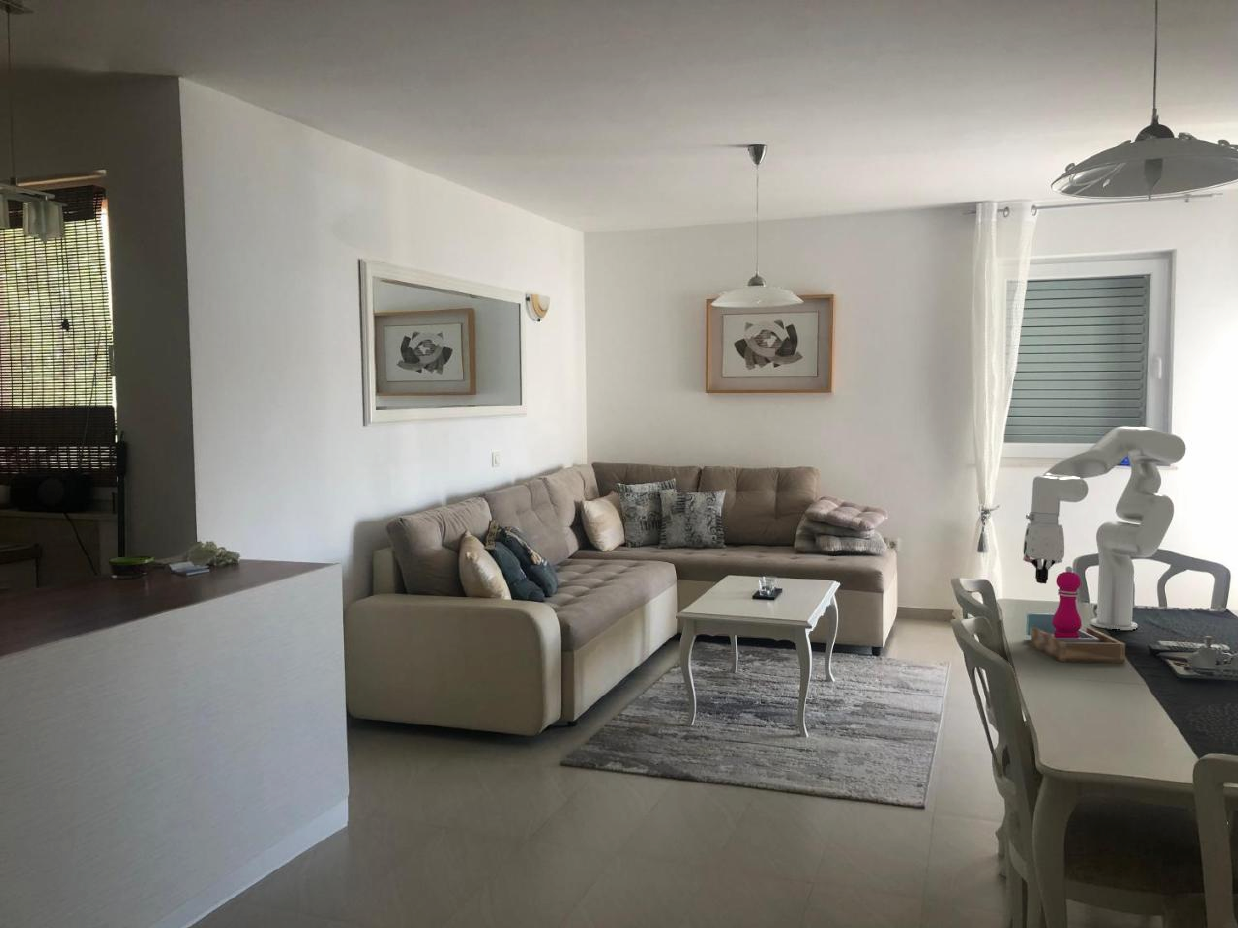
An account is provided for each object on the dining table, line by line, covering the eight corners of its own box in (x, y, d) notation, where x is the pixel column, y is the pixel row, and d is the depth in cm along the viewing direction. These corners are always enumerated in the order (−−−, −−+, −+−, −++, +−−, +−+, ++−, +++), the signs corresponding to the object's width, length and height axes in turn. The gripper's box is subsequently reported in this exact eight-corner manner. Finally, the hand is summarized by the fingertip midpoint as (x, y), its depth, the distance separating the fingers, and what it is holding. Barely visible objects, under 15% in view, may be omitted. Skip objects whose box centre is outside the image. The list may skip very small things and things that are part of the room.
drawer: (1026, 633, 279) (1027, 613, 279) (1073, 634, 279) (1073, 613, 279) (1050, 647, 263) (1051, 625, 263) (1100, 648, 263) (1101, 626, 263)
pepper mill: (1075, 636, 272) (1078, 564, 271) (1085, 642, 265) (1087, 569, 264) (1048, 635, 273) (1050, 563, 272) (1057, 641, 266) (1059, 568, 265)
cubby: (1031, 644, 272) (1031, 627, 272) (1090, 645, 272) (1091, 627, 272) (1060, 662, 254) (1061, 643, 254) (1124, 662, 254) (1125, 643, 254)
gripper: (1024, 519, 279) (1020, 584, 280) (1076, 521, 279) (1073, 585, 280) (1013, 516, 287) (1010, 579, 288) (1065, 518, 287) (1061, 581, 288)
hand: (1041, 582), depth 284 cm, fingers closed
